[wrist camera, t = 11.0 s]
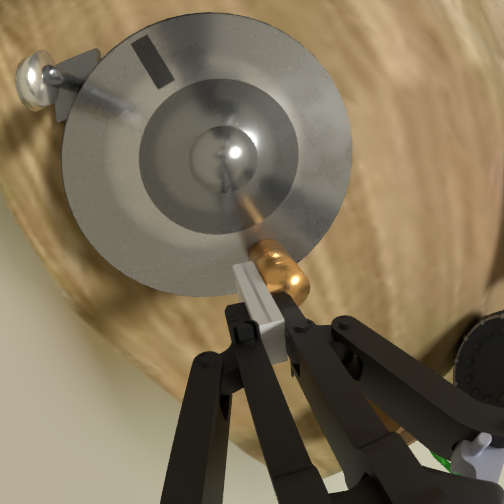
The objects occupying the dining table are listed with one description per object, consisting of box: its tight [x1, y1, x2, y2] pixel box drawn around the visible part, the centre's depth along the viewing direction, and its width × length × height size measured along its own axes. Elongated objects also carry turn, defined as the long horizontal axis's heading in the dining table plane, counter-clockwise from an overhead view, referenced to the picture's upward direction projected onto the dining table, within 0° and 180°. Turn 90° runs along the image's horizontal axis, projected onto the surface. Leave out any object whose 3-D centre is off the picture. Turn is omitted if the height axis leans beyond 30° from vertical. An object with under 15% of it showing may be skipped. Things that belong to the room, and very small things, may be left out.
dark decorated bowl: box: [453, 310, 504, 408], centre depth 31 cm, size 11×20×20 cm, turn 156°
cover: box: [139, 79, 299, 235], centre depth 14 cm, size 8×8×6 cm
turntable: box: [62, 14, 352, 306], centre depth 15 cm, size 20×20×6 cm
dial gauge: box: [16, 48, 101, 123], centre depth 12 cm, size 5×4×8 cm
